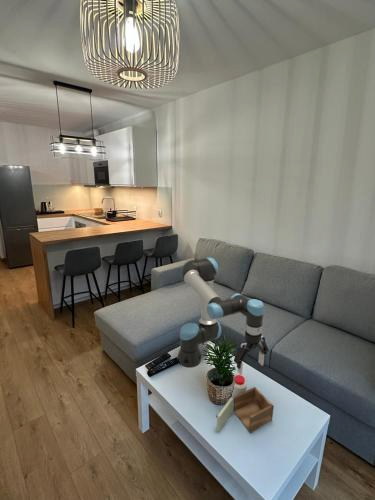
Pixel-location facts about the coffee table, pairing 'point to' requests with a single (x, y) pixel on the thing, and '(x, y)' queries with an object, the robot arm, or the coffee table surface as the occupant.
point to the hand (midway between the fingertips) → (250, 368)
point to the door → (224, 414)
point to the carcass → (253, 409)
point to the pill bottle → (239, 385)
